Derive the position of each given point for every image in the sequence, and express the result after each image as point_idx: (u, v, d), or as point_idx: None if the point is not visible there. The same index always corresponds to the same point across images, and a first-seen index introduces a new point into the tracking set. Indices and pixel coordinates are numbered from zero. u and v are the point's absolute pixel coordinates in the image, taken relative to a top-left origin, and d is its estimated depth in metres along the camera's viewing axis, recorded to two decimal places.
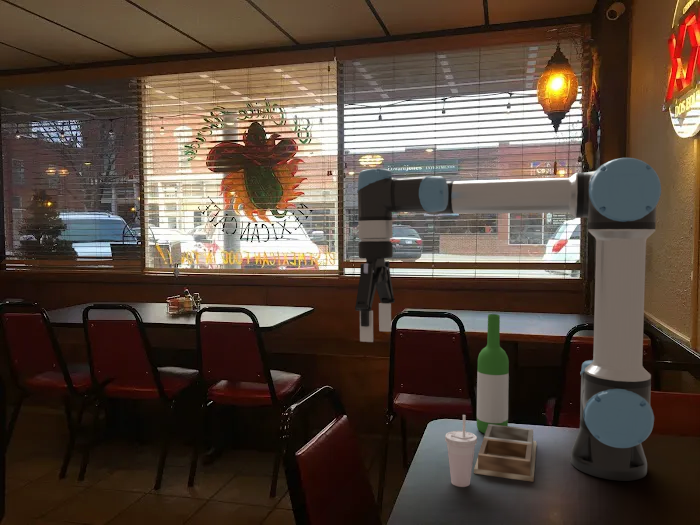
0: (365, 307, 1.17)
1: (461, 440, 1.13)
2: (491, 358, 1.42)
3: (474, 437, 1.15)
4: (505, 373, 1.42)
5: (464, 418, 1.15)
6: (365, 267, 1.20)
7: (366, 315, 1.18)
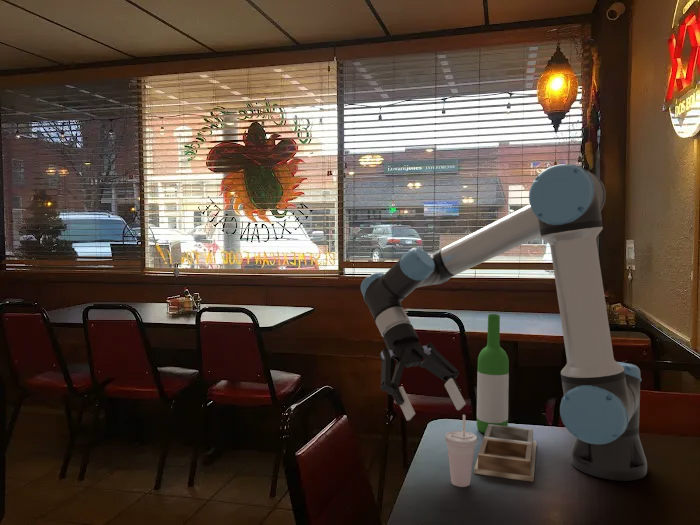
0: (385, 385, 1.20)
1: (461, 440, 1.13)
2: (491, 358, 1.42)
3: (474, 437, 1.15)
4: (505, 373, 1.42)
5: (464, 418, 1.15)
6: (381, 354, 1.27)
7: (395, 392, 1.20)
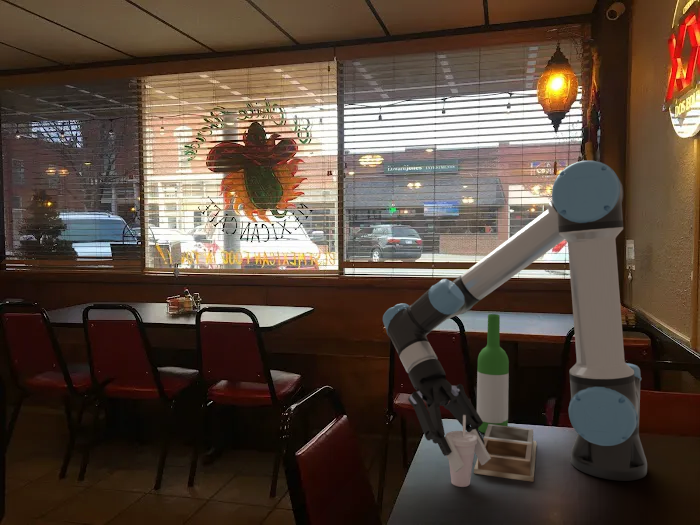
0: (431, 434, 1.13)
1: (461, 440, 1.13)
2: (491, 358, 1.42)
3: (474, 437, 1.15)
4: (505, 373, 1.42)
5: (464, 418, 1.15)
6: (411, 399, 1.19)
7: (441, 442, 1.13)
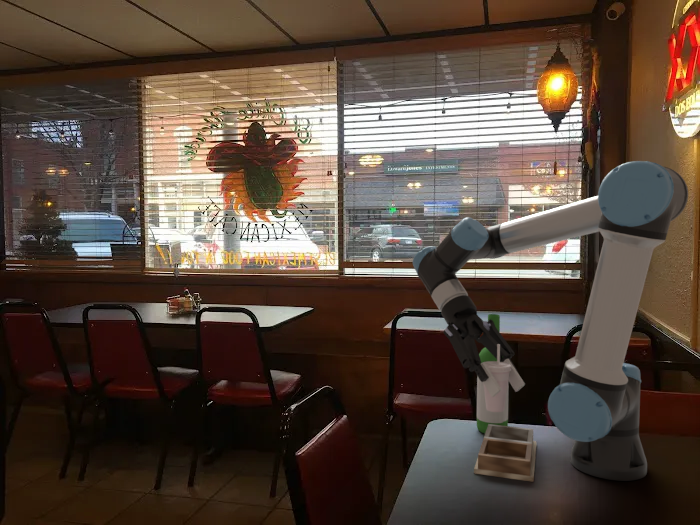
0: (468, 361, 1.18)
1: (497, 367, 1.19)
2: (491, 358, 1.42)
3: (508, 365, 1.20)
4: None
5: (499, 347, 1.20)
6: (447, 331, 1.24)
7: (478, 369, 1.18)
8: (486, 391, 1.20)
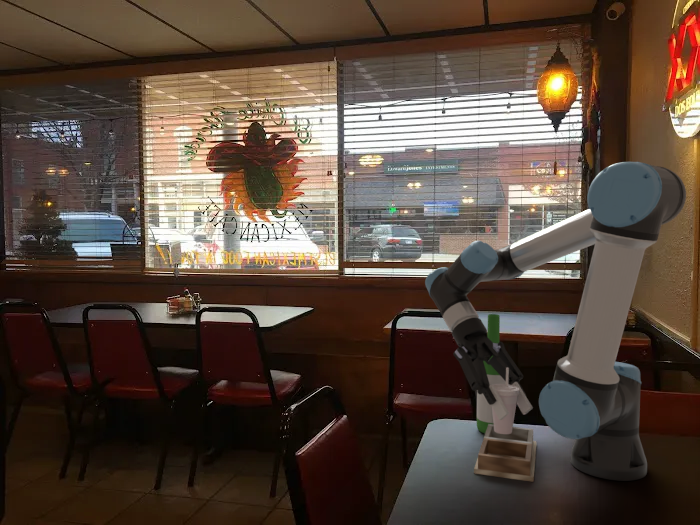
0: (477, 384, 1.21)
1: (505, 390, 1.21)
2: None
3: (516, 388, 1.23)
4: None
5: (507, 370, 1.23)
6: (457, 353, 1.26)
7: (487, 392, 1.21)
8: (494, 413, 1.23)
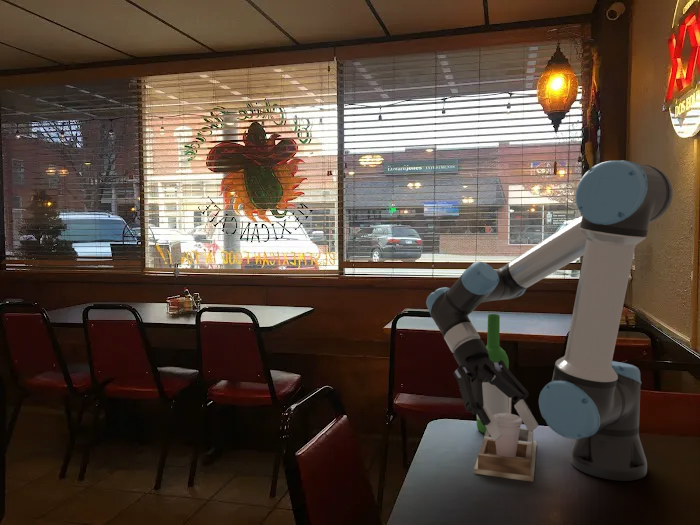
0: (471, 405, 1.20)
1: (508, 421, 1.21)
2: (491, 358, 1.42)
3: (519, 418, 1.23)
4: None
5: (510, 400, 1.23)
6: (456, 373, 1.26)
7: (481, 413, 1.20)
8: (497, 444, 1.23)
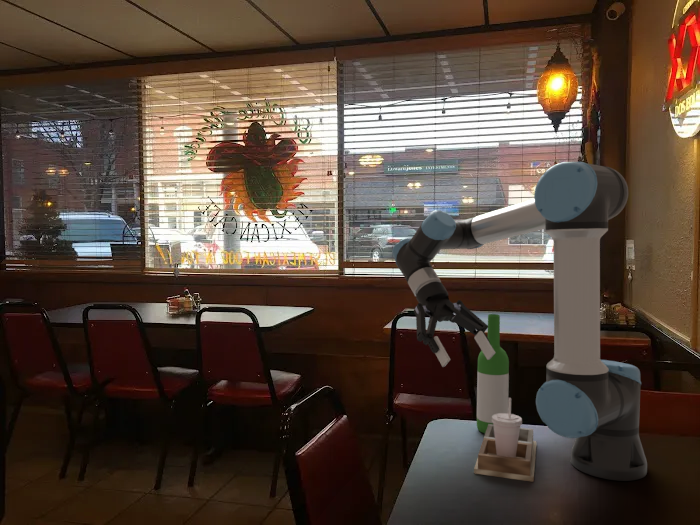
0: (421, 334, 1.30)
1: (508, 421, 1.21)
2: (491, 358, 1.42)
3: (519, 418, 1.23)
4: (505, 373, 1.42)
5: (510, 400, 1.23)
6: (416, 309, 1.37)
7: (431, 341, 1.30)
8: (497, 444, 1.23)
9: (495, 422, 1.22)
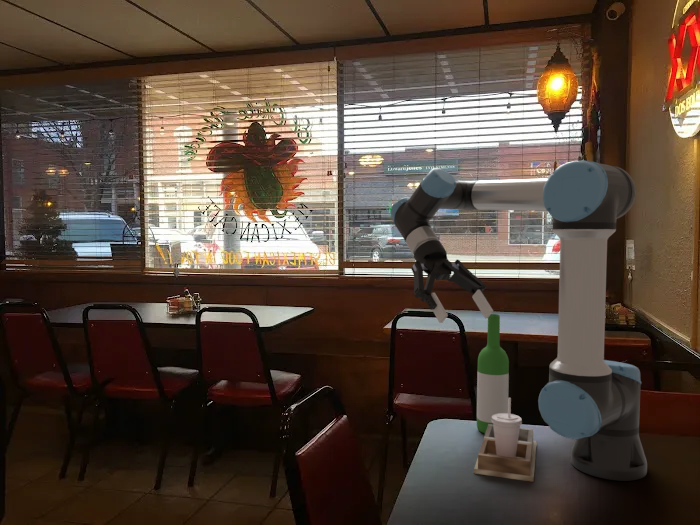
0: (419, 290, 1.28)
1: (507, 421, 1.21)
2: (491, 358, 1.42)
3: (519, 418, 1.23)
4: (505, 373, 1.42)
5: (509, 400, 1.23)
6: (413, 266, 1.35)
7: (428, 298, 1.28)
8: (497, 444, 1.23)
9: (495, 422, 1.22)
